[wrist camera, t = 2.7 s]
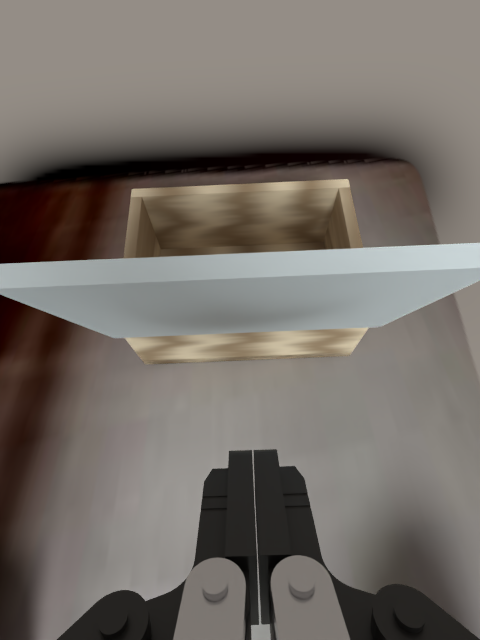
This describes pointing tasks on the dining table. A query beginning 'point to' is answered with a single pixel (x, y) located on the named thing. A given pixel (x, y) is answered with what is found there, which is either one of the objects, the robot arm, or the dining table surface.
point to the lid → (244, 289)
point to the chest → (243, 237)
